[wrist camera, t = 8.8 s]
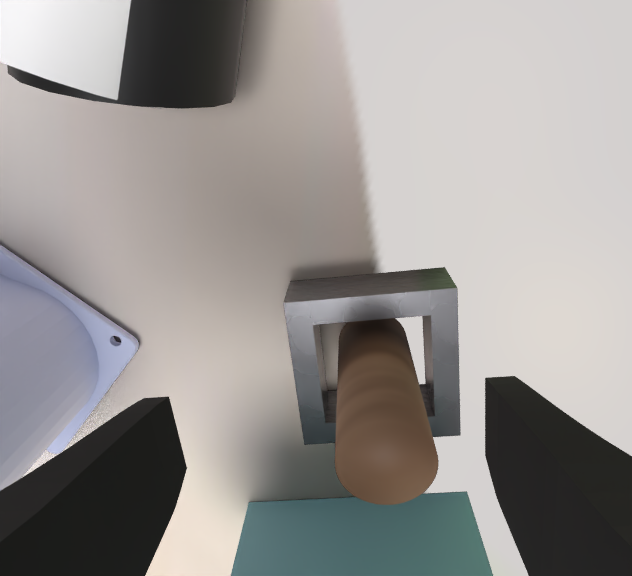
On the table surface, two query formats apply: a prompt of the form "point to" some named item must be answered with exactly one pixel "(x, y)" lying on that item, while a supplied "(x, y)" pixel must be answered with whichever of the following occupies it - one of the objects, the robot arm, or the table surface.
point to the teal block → (362, 538)
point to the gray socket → (372, 304)
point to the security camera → (126, 49)
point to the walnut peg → (381, 416)
